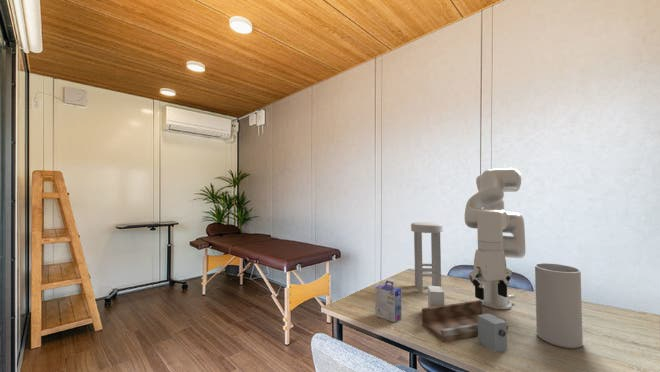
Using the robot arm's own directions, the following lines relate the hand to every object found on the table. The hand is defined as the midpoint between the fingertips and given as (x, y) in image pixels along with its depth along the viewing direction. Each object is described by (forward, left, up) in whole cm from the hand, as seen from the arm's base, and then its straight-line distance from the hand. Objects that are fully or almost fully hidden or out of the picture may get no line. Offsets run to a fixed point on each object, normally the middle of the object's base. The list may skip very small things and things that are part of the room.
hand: (491, 297), depth 96 cm
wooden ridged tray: (0, -13, -16) cm, 21 cm away
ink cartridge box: (+23, -30, -17) cm, 41 cm away
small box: (+2, -27, -17) cm, 32 cm away
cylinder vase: (-25, +4, -17) cm, 31 cm away
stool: (-13, -54, -17) cm, 58 cm away
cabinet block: (0, 0, -16) cm, 16 cm away
